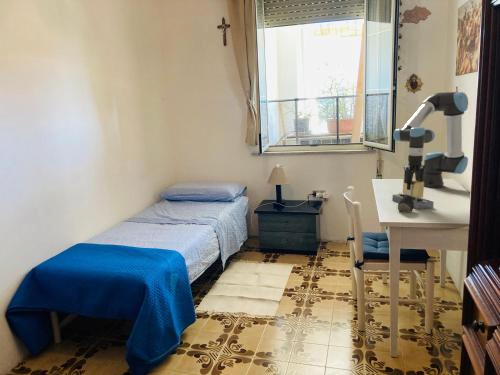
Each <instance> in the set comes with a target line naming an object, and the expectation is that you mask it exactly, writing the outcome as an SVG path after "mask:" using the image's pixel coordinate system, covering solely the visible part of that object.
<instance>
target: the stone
mask: <svg viewBox="0 0 500 375" xmlns="http://www.w3.org/2000/svg"><path fill="white" fill-rule="evenodd" d="M413 209H415V208H414V202H413V200H412V198H411V197H410V196H409V195H406V196H404V197H403V198H402V199H401V200H400V201H399V203H397V210H398V212H404V213H412V211H413Z"/></svg>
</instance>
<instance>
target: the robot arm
mask: <svg viewBox="0 0 500 375" xmlns="http://www.w3.org/2000/svg"><path fill="white" fill-rule="evenodd" d="M468 107H469V98H468V96H467V94H466V93H465V92H463V91H462V92H461V91H460V92H459V91H450V92H436V93H434V94H431V95H430V96H427V97H426V98H425V99H424V100H423V101H422V102H421V103H420V105H419V108H418V109H417V110H416V112H414V114H413V115H412V116H411V117H409V118H410V119H409V120H408V121H407V122H406V123H405V124H404V126H402V127H401V128H396V129H394V131H393V135H392V136H393V139H394V141H396V142H400V143H401V142H407V143H408V142H409V144H408V156H407V157H408V158H407V160H408V164H407V165H406V166H403V169H404V172H403V173H404V177H403V180H404V183H406V184H407V195H410V196H412V184H411V183H412V179H414V178H415V180H419V181H423V182H424V188H443V187H444V184H445V183H444V180H443V176H442V175H443V174H442V173H448V174H454V175H455V174H459V175H461V174H463V173H464V172H465V171H466V169H467V167H468V163H469V158H468V157H467V156H465V152H464V151H463V149H462V140H463V138H462V137H463V136H462V130H463V129H462V126H463V123H462V116H463V115H464V114H465V112H466V111H467V110H468V109H469V108H468ZM436 112H443V116H444V117H445V119H446V120H445V123H446V124H445V125H446V126H445V127H446V152H445V153H444V152H441V151H437V152H427V153H425V155H424V156H423V154H424V144H428V143H430V142H432V141H434V139H435V138H436V137H435V136H436V134H435V132H434V130H432V129H427V128H426V129H425V127H422V126H421V125H423V123H424V122H425V121H426V120H427V118H428V117H429V116H430V115H432V114H434V113H436ZM423 157H424V161H423ZM422 162H424V163H423V164H422ZM414 175H415V176H414Z"/></svg>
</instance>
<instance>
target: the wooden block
mask: <svg viewBox="0 0 500 375" xmlns="http://www.w3.org/2000/svg"><path fill="white" fill-rule="evenodd" d="M402 181H403V182H402V183H403V185H402V193H403V194H406V195H407V184H406V183H404V179H403V180H402ZM411 184H412V197H415V198H424V189H425V187H424V182H423V181H419V180H416V179H414V178H412V183H411ZM409 196H410V195H409Z"/></svg>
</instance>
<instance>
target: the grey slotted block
mask: <svg viewBox="0 0 500 375" xmlns="http://www.w3.org/2000/svg"><path fill="white" fill-rule="evenodd" d="M404 196H406V194H403V192H399V193H397V194H392V197H391V198H392V199H391V200H392V201H393V202H394V203H395V202H396V203H397V204H399V201H400V200H401V199H402V198H403V197H404ZM410 197H411V198H412V200H413V202H414V208H413V209H416V210H418V211H419V210H426V209H433V208H434V203H435V202H434V201H431V200H429V199H427V198H424V197H422V198H415V197H412V196H410Z"/></svg>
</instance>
